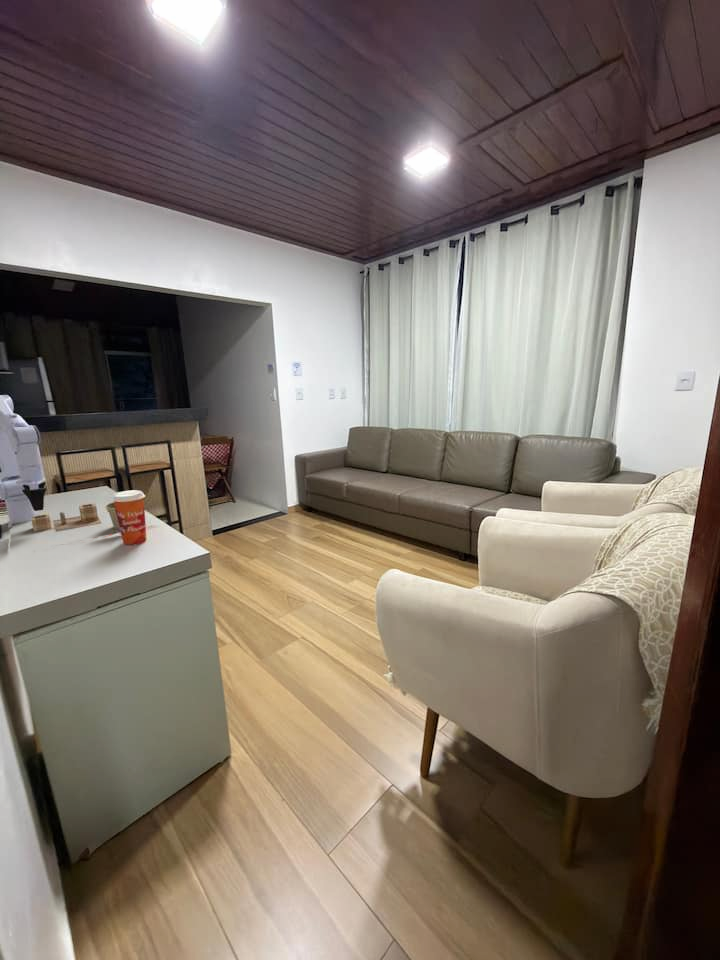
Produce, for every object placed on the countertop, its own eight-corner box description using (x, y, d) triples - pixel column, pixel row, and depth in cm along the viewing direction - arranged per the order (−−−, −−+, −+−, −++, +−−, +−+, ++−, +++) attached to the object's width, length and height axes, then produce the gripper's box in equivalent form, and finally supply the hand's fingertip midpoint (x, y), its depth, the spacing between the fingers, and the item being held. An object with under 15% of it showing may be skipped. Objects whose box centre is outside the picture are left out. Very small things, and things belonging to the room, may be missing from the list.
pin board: (53, 523, 128) (51, 509, 127) (96, 516, 135) (93, 502, 134) (56, 535, 117) (53, 519, 116) (102, 526, 125) (99, 511, 124)
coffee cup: (117, 548, 107) (109, 498, 104) (120, 539, 114) (113, 491, 111) (150, 543, 111) (144, 494, 108) (151, 534, 118) (145, 488, 115)
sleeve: (34, 531, 121) (31, 516, 120) (51, 528, 124) (48, 513, 123) (34, 535, 118) (31, 519, 116) (52, 531, 120) (49, 517, 119)
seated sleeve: (81, 519, 129) (78, 505, 127) (96, 516, 131) (94, 503, 130) (82, 522, 125) (80, 508, 124) (98, 519, 128) (96, 505, 127)
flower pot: (131, 534, 118) (127, 508, 116) (101, 534, 118) (97, 508, 116) (148, 524, 127) (144, 499, 125) (120, 524, 128) (117, 499, 126)
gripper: (13, 464, 119) (21, 505, 122) (12, 470, 108) (21, 515, 111) (41, 461, 123) (49, 501, 126) (43, 467, 112) (52, 510, 115)
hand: (38, 507), depth 119 cm, fingers open, 7 cm apart
